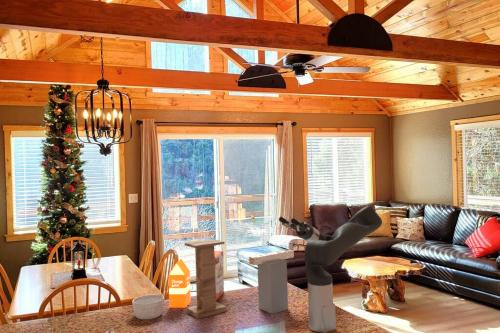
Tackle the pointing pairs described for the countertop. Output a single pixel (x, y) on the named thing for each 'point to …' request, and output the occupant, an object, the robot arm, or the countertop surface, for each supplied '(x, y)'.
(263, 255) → the bar
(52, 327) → the countertop surface
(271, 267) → the plinth
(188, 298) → the orange juice
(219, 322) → the countertop surface
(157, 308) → the ramekin
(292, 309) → the countertop surface
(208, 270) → the wooden pedestal
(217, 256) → the cracker box
